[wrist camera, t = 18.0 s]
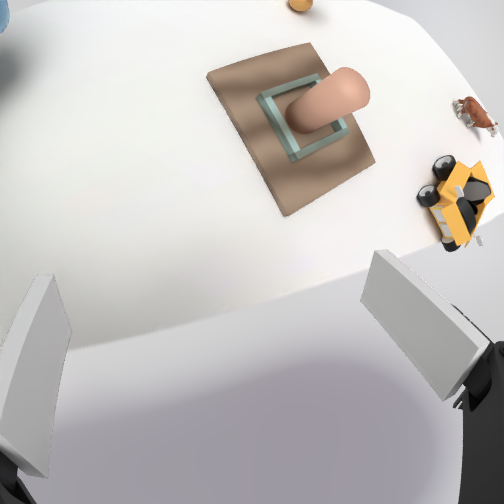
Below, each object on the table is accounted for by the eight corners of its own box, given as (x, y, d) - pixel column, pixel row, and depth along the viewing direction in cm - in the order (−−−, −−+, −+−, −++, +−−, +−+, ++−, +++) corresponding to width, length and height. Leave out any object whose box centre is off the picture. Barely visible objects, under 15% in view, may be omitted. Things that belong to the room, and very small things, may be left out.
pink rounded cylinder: (278, 107, 38) (325, 72, 27) (306, 97, 40) (356, 64, 28) (296, 139, 40) (348, 113, 28) (322, 127, 41) (376, 101, 29)
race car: (411, 197, 50) (456, 194, 40) (440, 153, 52) (480, 146, 42) (441, 255, 54) (483, 260, 44) (466, 208, 57) (504, 207, 47)
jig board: (206, 77, 36) (211, 65, 33) (305, 46, 41) (316, 36, 37) (283, 216, 41) (295, 215, 38) (370, 163, 46) (384, 160, 42)
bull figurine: (476, 142, 58) (501, 138, 50) (448, 108, 53) (475, 101, 46) (477, 130, 58) (501, 125, 50) (450, 96, 54) (475, 88, 46)
